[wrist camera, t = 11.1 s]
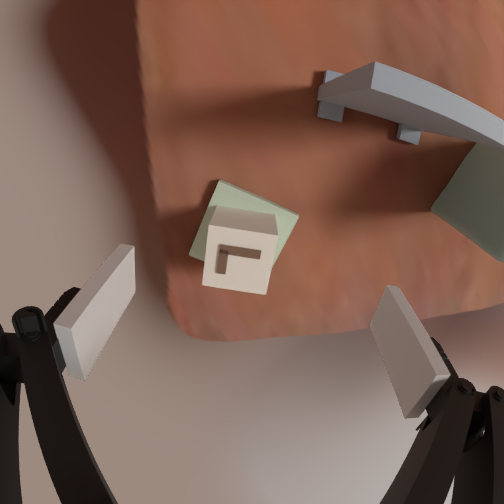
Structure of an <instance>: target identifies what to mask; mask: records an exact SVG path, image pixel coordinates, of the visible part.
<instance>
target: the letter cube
mask: <svg viewBox="0 0 504 504" xmlns="http://www.w3.org/2000/svg"><path fill="white" fill-rule="evenodd" d="M277 241H278V229H277V223H276V217H275V214H270V213H264V212H258V211H252V210H246V209H239V208H233V207H226V206H219V205H217V207H216V209H215V212H214V214H213V216H212V219H211V221H210V223H209V227H208V236H207V245H206V254H205V263H204V273H203V283H202V285H205V286H211V287H217V288H224V289H230V290H237V291H244V292H250V293H257V294H264V295H266V292H267V287H268V283H269V278H270V274H271V269H272V264H273V260H274V255H275V250H276V245H277Z"/></svg>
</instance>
